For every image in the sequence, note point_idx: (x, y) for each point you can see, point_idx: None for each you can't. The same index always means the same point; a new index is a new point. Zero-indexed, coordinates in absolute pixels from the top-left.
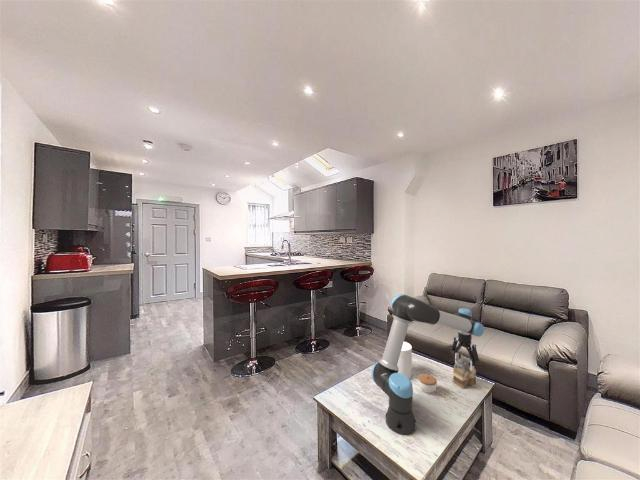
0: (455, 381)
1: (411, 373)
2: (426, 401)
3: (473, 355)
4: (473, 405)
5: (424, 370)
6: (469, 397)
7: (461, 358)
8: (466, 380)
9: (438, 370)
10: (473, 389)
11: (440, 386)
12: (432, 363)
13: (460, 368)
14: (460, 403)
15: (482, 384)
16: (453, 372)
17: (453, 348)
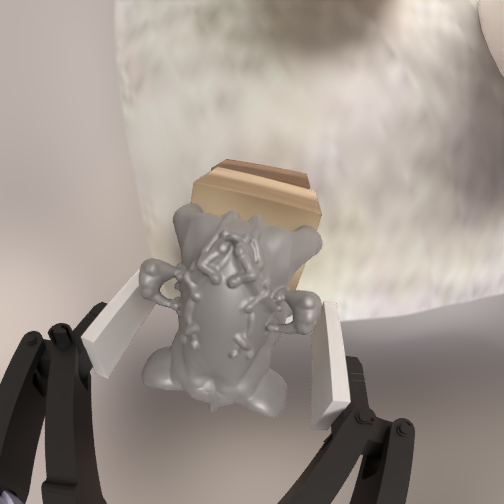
0: (289, 173)
1: (500, 47)
2: None
3: (16, 393)
4: (118, 64)
5: (485, 173)
6: (159, 105)
7: (224, 347)
8: None
9: (431, 242)
10: None
11: (338, 56)
12: (468, 286)
13: None
14: (164, 15)
15: None
16: (314, 197)
17: (387, 458)
